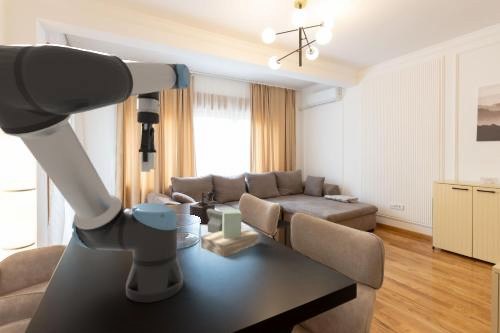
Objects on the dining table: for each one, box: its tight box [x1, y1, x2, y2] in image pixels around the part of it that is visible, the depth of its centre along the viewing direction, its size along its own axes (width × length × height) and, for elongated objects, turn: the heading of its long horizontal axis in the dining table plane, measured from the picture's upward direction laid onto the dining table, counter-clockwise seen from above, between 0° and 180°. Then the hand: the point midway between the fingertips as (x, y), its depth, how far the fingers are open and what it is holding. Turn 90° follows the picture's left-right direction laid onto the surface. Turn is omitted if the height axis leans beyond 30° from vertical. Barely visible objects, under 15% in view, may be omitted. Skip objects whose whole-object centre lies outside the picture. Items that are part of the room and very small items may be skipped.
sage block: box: [222, 208, 242, 238], centre depth 104 cm, size 7×7×10 cm
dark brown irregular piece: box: [189, 191, 216, 225], centre depth 140 cm, size 16×11×18 cm
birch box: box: [200, 227, 261, 258], centre depth 105 cm, size 14×20×5 cm
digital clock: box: [207, 209, 223, 234], centre depth 123 cm, size 16×9×11 cm, turn 36°
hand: (148, 170), depth 92 cm, fingers open, 13 cm apart
